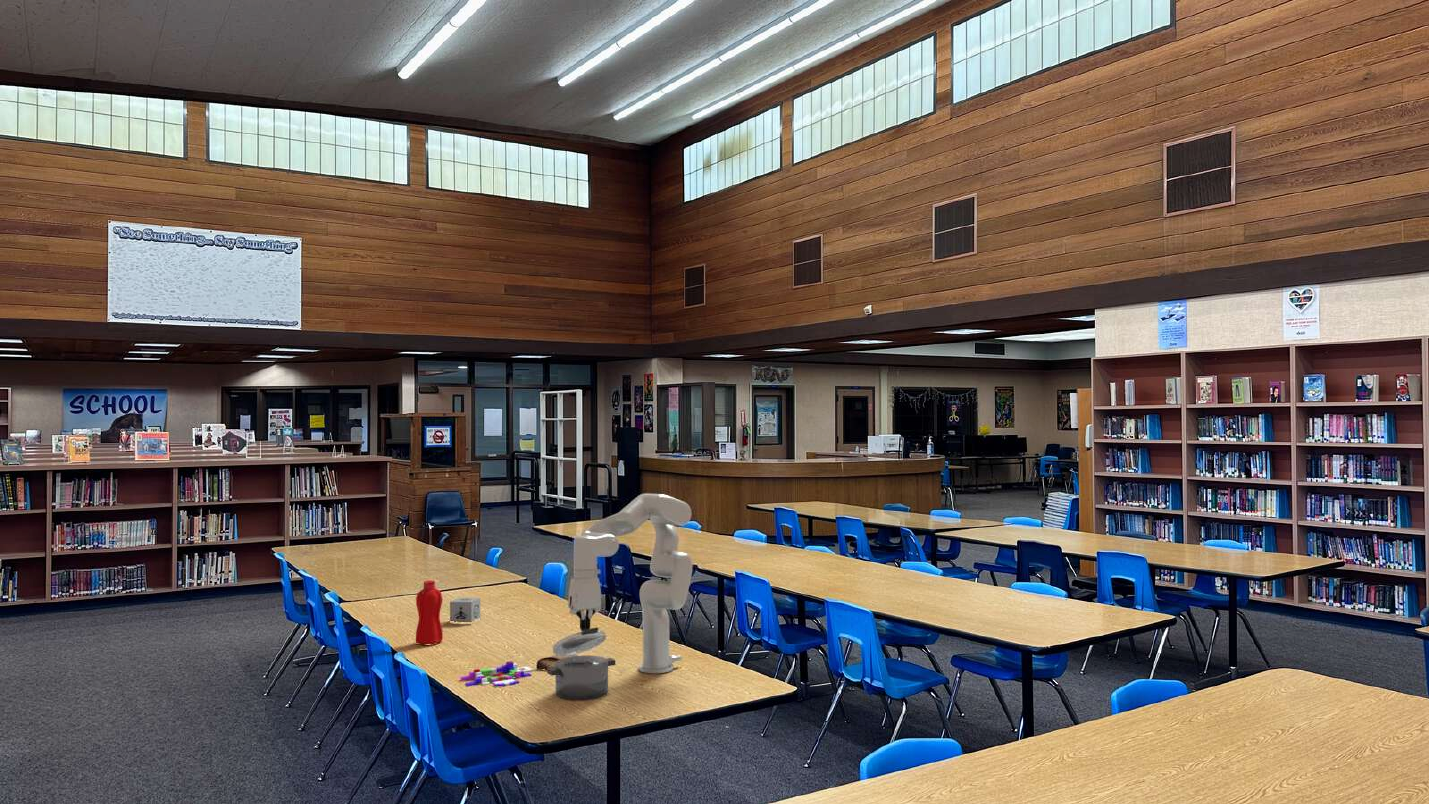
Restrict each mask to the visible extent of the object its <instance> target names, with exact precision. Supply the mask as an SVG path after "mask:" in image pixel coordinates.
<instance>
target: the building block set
mask: <svg viewBox="0 0 1429 804" xmlns="http://www.w3.org/2000/svg"><path fill="white" fill-rule="evenodd" d="M518 669H523V670H518ZM524 669H525V670H524ZM527 671H531V672H534V671H533V668H531V667H529V666H521V667H518V664H517V663H516V662H515V663H514V662H513V661H512V660H505V661H504V664H502V665H501V666H499V667H498V666H497V667H494V668H485V669H480V668H475V669H474V670H472V671H469V672H468V675H463V676H460V679H461V680H462V682H464V681H463V680H466V681H467V682H465V685H466V686H467V687H471V686H472V685H473V686H478V685H482V686H488V685H487V684H489V683H490V684H491V683H492V682H493V683H494V684H493V683H492V684H493V687H494V686H499V687H500V686H503V687H507V686H514V685H517V684H520V681H519V680H517V679H520V678H519V677H521V678H527V677H531V676H532V674H531V672H527ZM524 672H525V673H524ZM506 673H509V674H506ZM495 675H497V676H495ZM498 675H499V676H498ZM513 677H515V678H513ZM474 678H475V679H474ZM516 678H517V679H516ZM469 679H472V680H474V681H470V680H469ZM502 679H506V680H502ZM515 679H516V680H515ZM461 680H460V681H461ZM498 680H501V681H498ZM480 683H482V684H480ZM516 683H517V684H516ZM490 684H489V685H490Z"/></svg>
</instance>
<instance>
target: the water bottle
mask: <svg viewBox="0 0 1429 804" xmlns="http://www.w3.org/2000/svg"><path fill="white" fill-rule="evenodd" d="M415 597H416V598H415V601H416V602H415V605H416V608H417V609H416V610H417V613H418V622H417V627H416V631H415V643H416V644H417V643H419V644H434V645H436V644H435V643H437V644H439V643H438V642H440V643H441V642H442V641H443V638H444V635H443V628H442V623H441V619H440V618H441V617H440V616H441V615H440V614H441V610H442V609H441V608H442V604H443V599H444V598H443V595H442V592H441V591H440V590H439V589H438V588H436V581H435V580H425V581H424V582H423V588H422V589H420V591H419V592H417V594H416V596H415ZM419 644H418V645H419Z"/></svg>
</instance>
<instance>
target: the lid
mask: <svg viewBox="0 0 1429 804" xmlns="http://www.w3.org/2000/svg"><path fill="white" fill-rule="evenodd" d="M605 640H607V635H606V632H605V631H603V630H600V629H599V627H590V628H589V629H584V630H583V631H580V632H576V633H573V634H571V635H568V636H566V637H564V638H562V639H559V640H558V641H556V643H554V644H553V646H552V651H553V654H554V655H572V654H576V655H578V654H580V653H584V652H587V651H589V650H590V651H591V650H592V649H594V648H596V647H597V646H600V645H602V643H604V642H605Z"/></svg>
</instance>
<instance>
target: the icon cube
mask: <svg viewBox="0 0 1429 804" xmlns="http://www.w3.org/2000/svg"><path fill="white" fill-rule="evenodd" d="M478 618H480V619H481V597H461V596H460V597H457V598H455V599H453V600H450V601H449V622H450V621H454V622H456V621H457V622H472V621H474V620H475V619H478Z"/></svg>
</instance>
